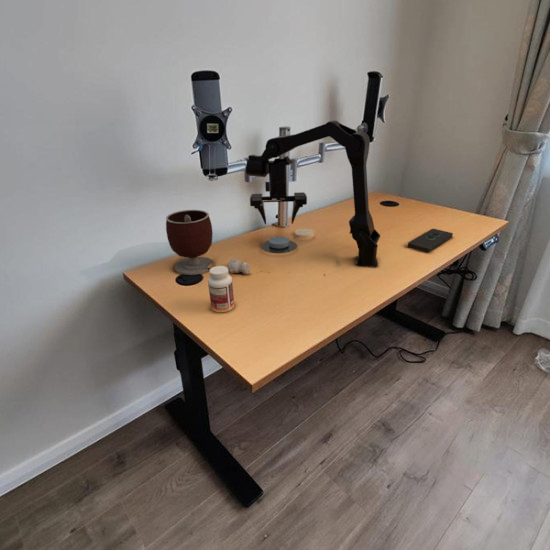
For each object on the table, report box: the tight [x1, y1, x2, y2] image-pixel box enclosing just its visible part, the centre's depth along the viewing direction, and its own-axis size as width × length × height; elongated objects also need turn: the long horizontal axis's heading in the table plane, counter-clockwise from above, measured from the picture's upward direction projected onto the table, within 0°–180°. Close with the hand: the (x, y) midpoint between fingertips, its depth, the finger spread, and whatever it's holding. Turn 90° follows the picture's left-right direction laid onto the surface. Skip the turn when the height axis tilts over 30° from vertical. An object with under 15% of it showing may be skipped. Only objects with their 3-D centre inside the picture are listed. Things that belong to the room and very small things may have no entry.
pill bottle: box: [207, 265, 235, 313], centre depth 95 cm, size 6×6×11 cm
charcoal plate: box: [260, 239, 298, 254], centre depth 131 cm, size 13×13×1 cm
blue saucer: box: [268, 235, 290, 249], centre depth 130 cm, size 7×7×2 cm
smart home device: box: [407, 228, 454, 254], centre depth 133 cm, size 8×2×20 cm
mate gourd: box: [165, 209, 213, 276], centre depth 115 cm, size 16×14×20 cm
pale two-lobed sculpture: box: [226, 258, 251, 275], centre depth 114 cm, size 4×8×5 cm
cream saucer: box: [294, 228, 315, 239], centre depth 140 cm, size 7×7×2 cm
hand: (278, 223), depth 127 cm, fingers open, 9 cm apart
